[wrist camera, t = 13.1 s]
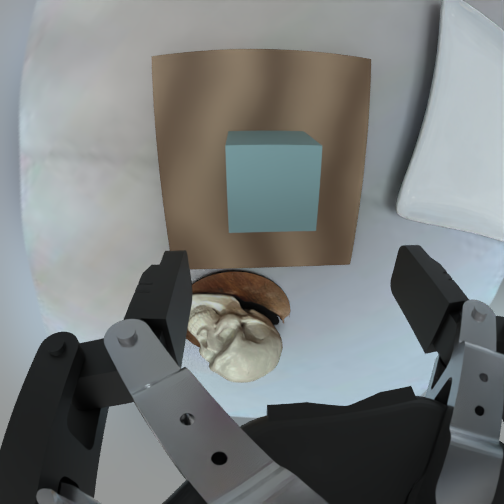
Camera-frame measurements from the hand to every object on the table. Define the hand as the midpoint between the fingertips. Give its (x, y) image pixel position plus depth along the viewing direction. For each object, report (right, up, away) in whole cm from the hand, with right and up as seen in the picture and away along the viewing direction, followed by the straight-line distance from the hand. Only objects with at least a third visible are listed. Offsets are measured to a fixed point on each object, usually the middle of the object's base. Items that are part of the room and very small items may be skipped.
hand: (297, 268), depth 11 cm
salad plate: (+22, +13, +12) cm, 28 cm away
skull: (-4, -6, +21) cm, 22 cm away
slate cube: (-1, +7, +12) cm, 14 cm away
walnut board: (-1, +8, +13) cm, 15 cm away
